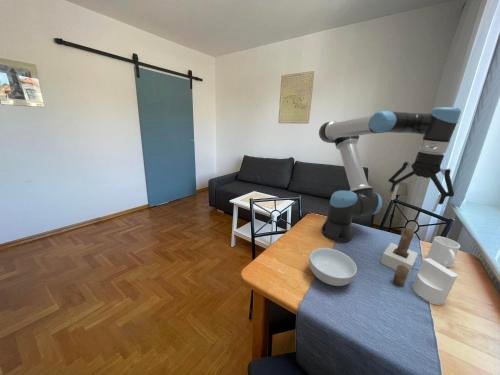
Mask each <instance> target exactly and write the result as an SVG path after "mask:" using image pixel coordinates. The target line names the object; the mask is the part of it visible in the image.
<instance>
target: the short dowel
mask: <svg viewBox="0 0 500 375" xmlns="http://www.w3.org/2000/svg"><path fill="white" fill-rule="evenodd" d="M408 273H409V269H408V268H406V267H404V266H402V265H398V266H397V269H396V270H395V272H394V274H393V278H392V281H391V282H392V284H393V285H395V286H396V287H398V288H403V287H404V286H405V283H406V280H407V277H408V276H407V275H408Z"/></svg>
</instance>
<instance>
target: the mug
mask: <svg viewBox="0 0 500 375" xmlns="http://www.w3.org/2000/svg"><path fill="white" fill-rule="evenodd" d="M460 248H461V244H460V243H458V242H457V241H455V240H453V239H451V238H448V237H445V236H440V235H439V236H434V237H433V240H432V243H431V245H430V248H429V250H428V252H427V254H426V255H427V257H426V258H431V259H432V260H434V261H436V262H437V263H439V264H441V265H442V266H444V267H446V268H451V267H452V266H454V264H455V262H456V257H457V254H458V252H459V250H460Z"/></svg>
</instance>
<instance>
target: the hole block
mask: <svg viewBox="0 0 500 375" xmlns="http://www.w3.org/2000/svg"><path fill="white" fill-rule="evenodd" d="M398 245H399V244H395V243H394V242H390V243H389V244H388V246H387V248H386V249H385V251H384V252H383V254H382V256H381V260H380V264H381V265H384V266H387V267H389V268H390V269H392V270H395V271H396V269H397V266H398V265H402V266H404V267H406V268H408V269H409V273H408V275H407V277H408V276H410V274H411V272H412V269H413V267H414V264H415V263H416V262H415V261H416V259H417V257H418V254H419V253H418V252H417V251H415V250H412V249H409V248H408V251H407V254H406V257H405V258H404V257H401V256H399V255H397V254H395V253H396V250H397V247H398Z"/></svg>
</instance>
